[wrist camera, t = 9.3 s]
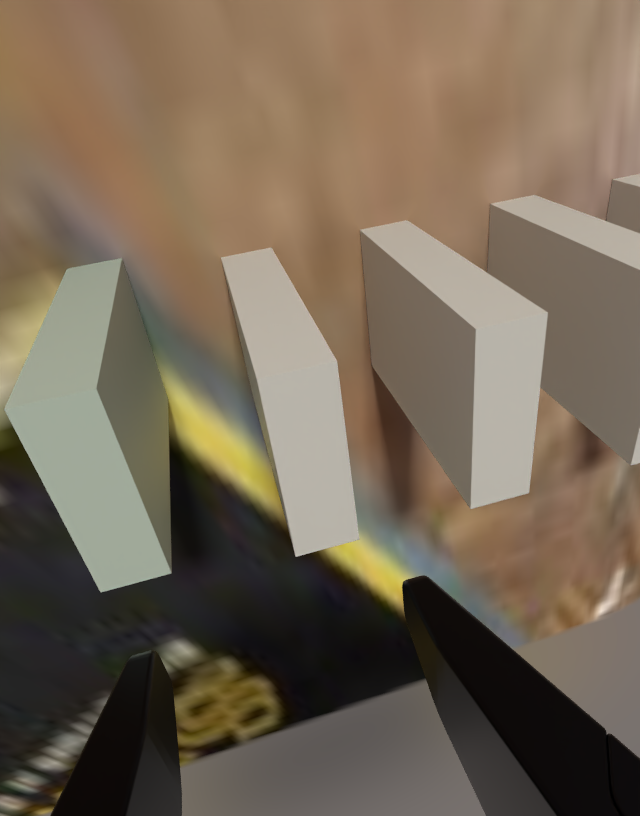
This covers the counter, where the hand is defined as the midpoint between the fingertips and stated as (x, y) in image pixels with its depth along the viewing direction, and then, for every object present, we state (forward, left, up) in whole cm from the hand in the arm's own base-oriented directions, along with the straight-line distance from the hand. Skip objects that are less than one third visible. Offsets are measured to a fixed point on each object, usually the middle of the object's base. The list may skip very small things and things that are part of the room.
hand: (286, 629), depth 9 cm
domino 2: (0, -1, -12) cm, 12 cm away
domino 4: (0, -10, -12) cm, 16 cm away
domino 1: (+1, +3, -12) cm, 12 cm away
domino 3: (0, -6, -12) cm, 13 cm away
